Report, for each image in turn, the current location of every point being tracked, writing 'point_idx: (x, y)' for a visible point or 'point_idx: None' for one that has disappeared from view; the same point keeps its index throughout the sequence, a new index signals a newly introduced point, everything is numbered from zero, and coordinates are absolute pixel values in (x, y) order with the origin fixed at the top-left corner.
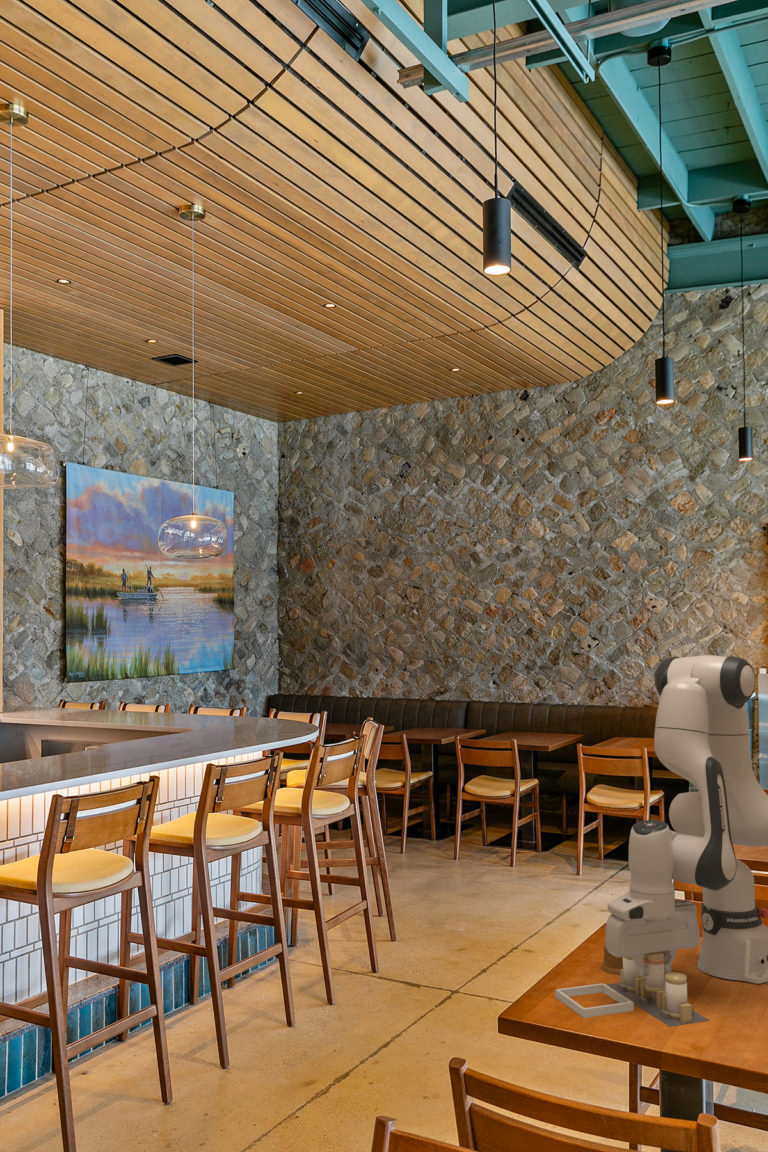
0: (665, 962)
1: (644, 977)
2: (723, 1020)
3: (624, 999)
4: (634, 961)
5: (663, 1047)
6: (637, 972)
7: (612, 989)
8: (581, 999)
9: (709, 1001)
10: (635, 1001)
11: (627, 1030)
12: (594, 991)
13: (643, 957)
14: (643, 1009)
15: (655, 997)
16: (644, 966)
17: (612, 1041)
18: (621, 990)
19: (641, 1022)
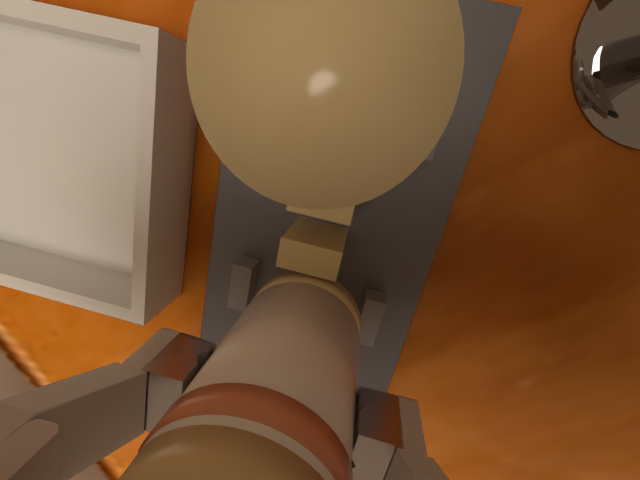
0: (391, 469)
1: (232, 326)
2: (449, 473)
3: (135, 269)
4: (69, 378)
5: (130, 463)
6: (160, 331)
7: (147, 146)
8: (96, 2)
9: (599, 354)
10: (233, 246)
11: (101, 343)
12: (113, 42)
13: (150, 432)
14: (203, 323)
15: (353, 264)
16: (157, 417)
17: (20, 366)
18: None
19: (183, 329)
